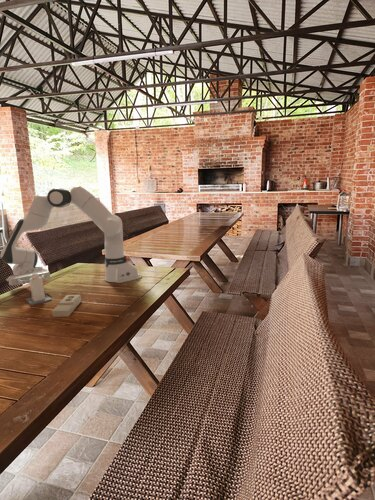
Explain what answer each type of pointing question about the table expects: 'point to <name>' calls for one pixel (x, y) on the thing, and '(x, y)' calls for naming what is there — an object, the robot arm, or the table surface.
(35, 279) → the tapered lotion bottle
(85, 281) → the table surface
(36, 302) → the peg stand
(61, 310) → the electrical outlet
